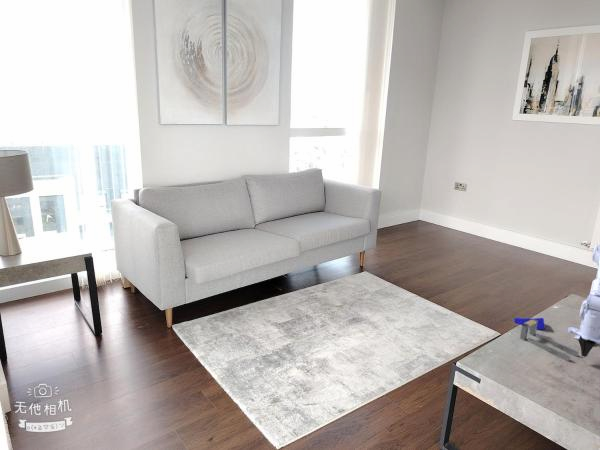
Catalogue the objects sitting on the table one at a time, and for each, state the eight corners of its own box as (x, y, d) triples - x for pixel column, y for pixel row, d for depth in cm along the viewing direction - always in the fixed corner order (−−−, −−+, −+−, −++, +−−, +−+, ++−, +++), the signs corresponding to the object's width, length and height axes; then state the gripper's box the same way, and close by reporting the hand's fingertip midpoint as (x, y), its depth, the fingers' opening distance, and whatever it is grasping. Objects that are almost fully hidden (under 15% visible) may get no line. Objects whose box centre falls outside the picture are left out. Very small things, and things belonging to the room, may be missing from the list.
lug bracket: (530, 334, 190) (533, 318, 188) (534, 336, 188) (538, 320, 186) (519, 339, 185) (522, 323, 183) (524, 341, 183) (527, 325, 181)
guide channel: (536, 337, 187) (537, 333, 187) (577, 356, 174) (578, 351, 173) (527, 342, 183) (527, 338, 183) (568, 361, 169) (569, 357, 169)
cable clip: (544, 328, 191) (544, 327, 196) (543, 318, 192) (543, 317, 197) (515, 328, 197) (515, 327, 202) (514, 318, 198) (514, 317, 203)
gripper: (567, 319, 168) (560, 349, 171) (608, 335, 156) (600, 367, 160) (575, 315, 172) (568, 345, 175) (616, 330, 160) (608, 362, 164)
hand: (584, 355), depth 168 cm, fingers closed
